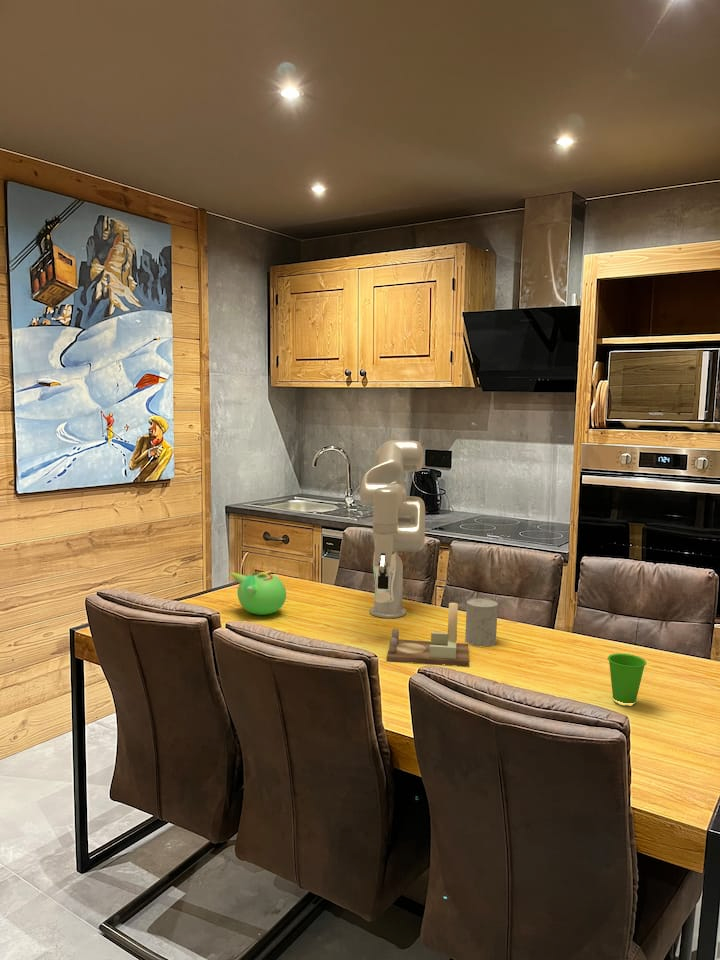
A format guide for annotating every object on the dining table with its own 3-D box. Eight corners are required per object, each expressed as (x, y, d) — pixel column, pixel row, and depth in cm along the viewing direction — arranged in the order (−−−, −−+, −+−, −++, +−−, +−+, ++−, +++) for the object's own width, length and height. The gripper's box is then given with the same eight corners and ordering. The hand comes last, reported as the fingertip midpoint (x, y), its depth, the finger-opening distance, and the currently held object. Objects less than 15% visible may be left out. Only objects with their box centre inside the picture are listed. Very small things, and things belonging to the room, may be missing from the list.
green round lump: (294, 616, 246) (295, 574, 245) (249, 624, 237) (249, 580, 235) (270, 603, 261) (270, 563, 260) (226, 610, 252) (226, 568, 250)
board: (391, 643, 221) (391, 626, 220) (467, 648, 218) (468, 630, 217) (386, 661, 206) (387, 642, 206) (468, 666, 203) (469, 647, 203)
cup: (599, 695, 185) (601, 653, 184) (633, 694, 186) (636, 653, 185) (614, 710, 176) (617, 666, 175) (650, 709, 177) (653, 666, 176)
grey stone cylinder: (499, 639, 227) (501, 601, 226) (491, 648, 219) (493, 608, 217) (470, 634, 231) (471, 596, 230) (461, 643, 223) (462, 604, 221)
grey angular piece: (431, 642, 218) (432, 596, 217) (456, 643, 217) (457, 598, 216) (429, 657, 205) (430, 608, 204) (456, 659, 204) (457, 610, 203)
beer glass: (393, 604, 220) (394, 555, 218) (370, 602, 222) (371, 554, 219) (396, 597, 227) (397, 550, 225) (374, 595, 228) (375, 548, 226)
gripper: (376, 522, 230) (375, 577, 233) (369, 533, 213) (368, 592, 216) (399, 523, 229) (398, 578, 232) (395, 534, 212) (393, 594, 215)
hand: (384, 584), depth 223 cm, fingers closed on beer glass, 6 cm apart
